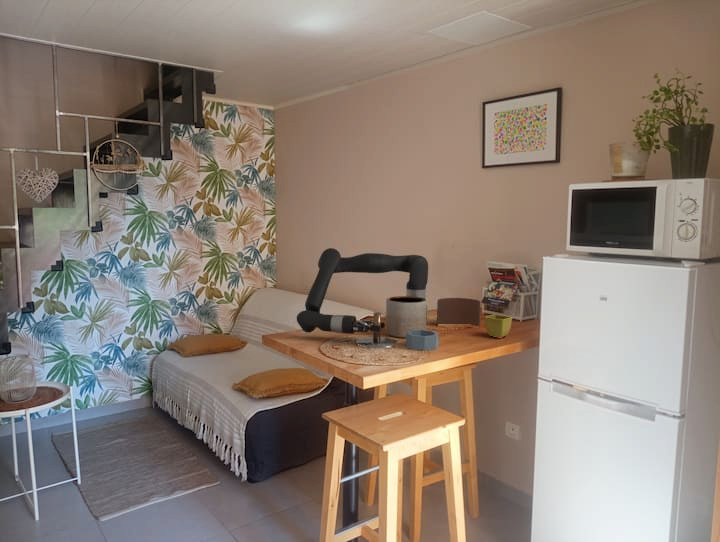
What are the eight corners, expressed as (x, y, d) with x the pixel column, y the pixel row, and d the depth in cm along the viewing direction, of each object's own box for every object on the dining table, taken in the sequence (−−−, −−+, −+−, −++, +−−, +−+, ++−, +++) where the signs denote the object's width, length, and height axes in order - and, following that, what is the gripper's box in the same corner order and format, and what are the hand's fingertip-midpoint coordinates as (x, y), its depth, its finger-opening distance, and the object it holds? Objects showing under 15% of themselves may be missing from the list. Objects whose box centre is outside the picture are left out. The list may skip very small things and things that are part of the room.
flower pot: (512, 337, 237) (513, 316, 236) (502, 340, 230) (503, 319, 229) (493, 334, 243) (494, 314, 242) (483, 337, 236) (484, 316, 235)
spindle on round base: (387, 337, 234) (388, 308, 232) (404, 347, 218) (405, 315, 217) (350, 340, 228) (350, 310, 226) (364, 350, 212) (365, 318, 211)
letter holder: (479, 328, 254) (480, 298, 253) (436, 327, 257) (437, 297, 256) (478, 324, 264) (479, 295, 262) (437, 322, 267) (437, 294, 265)
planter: (402, 340, 228) (402, 303, 226) (377, 332, 243) (378, 297, 241) (434, 335, 238) (435, 300, 236) (408, 328, 253) (409, 294, 251)
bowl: (427, 341, 227) (428, 328, 226) (443, 348, 215) (443, 335, 215) (401, 344, 222) (401, 331, 221) (416, 351, 211) (416, 337, 210)
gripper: (337, 318, 219) (377, 321, 214) (349, 312, 233) (387, 314, 228) (337, 336, 220) (377, 340, 215) (349, 329, 234) (386, 332, 229)
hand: (382, 327), depth 222 cm, fingers open, 6 cm apart
